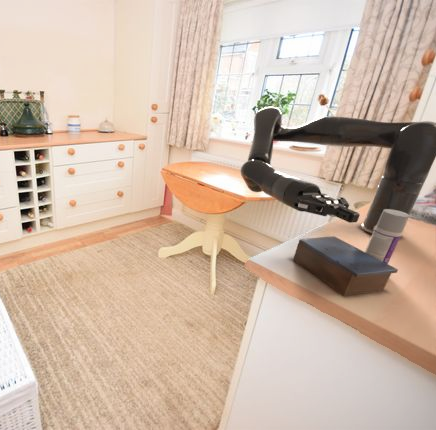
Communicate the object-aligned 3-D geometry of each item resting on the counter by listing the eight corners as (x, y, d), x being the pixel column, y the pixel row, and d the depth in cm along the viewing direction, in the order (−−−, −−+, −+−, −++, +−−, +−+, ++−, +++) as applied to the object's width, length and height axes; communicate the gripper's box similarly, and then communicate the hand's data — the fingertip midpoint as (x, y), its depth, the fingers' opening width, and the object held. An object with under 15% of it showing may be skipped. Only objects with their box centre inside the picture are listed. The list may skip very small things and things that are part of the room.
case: (383, 290, 64) (392, 270, 61) (343, 295, 62) (352, 275, 60) (327, 256, 76) (333, 239, 74) (292, 259, 74) (298, 242, 72)
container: (374, 264, 74) (399, 209, 68) (388, 275, 69) (416, 217, 63) (355, 262, 74) (377, 208, 68) (367, 273, 70) (393, 216, 64)
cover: (396, 272, 61) (398, 269, 60) (356, 277, 59) (357, 274, 58) (333, 238, 74) (334, 236, 74) (298, 241, 72) (299, 238, 72)
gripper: (311, 204, 80) (374, 232, 65) (269, 206, 78) (324, 236, 62) (319, 178, 77) (387, 200, 62) (276, 179, 75) (335, 203, 59)
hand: (355, 218), depth 62 cm, fingers closed
